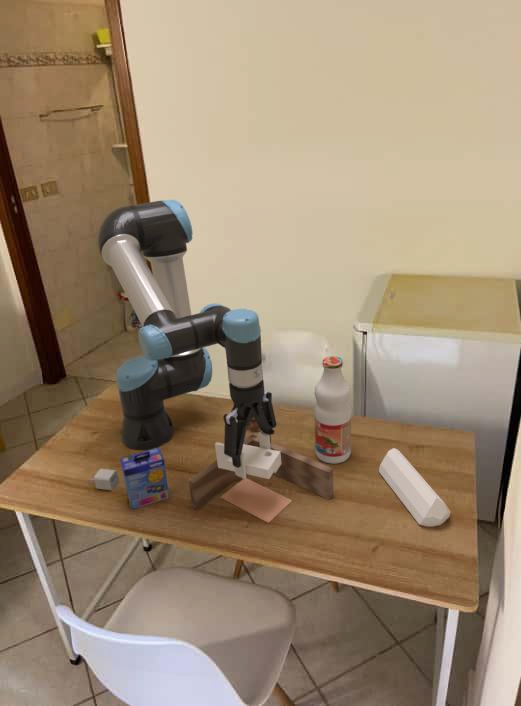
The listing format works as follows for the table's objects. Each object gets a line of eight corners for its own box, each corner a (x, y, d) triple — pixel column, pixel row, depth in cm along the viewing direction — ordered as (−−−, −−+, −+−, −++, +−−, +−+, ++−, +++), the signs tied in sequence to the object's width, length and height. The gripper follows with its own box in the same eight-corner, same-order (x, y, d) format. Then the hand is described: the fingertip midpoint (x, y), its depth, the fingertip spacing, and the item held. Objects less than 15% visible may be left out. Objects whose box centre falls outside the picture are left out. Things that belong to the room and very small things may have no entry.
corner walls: (192, 507, 132) (188, 480, 129) (254, 459, 148) (252, 434, 144) (273, 554, 117) (271, 525, 114) (333, 495, 133) (333, 468, 129)
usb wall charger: (111, 491, 139) (108, 479, 138) (87, 488, 141) (84, 476, 139) (119, 481, 143) (116, 469, 141) (95, 478, 145) (92, 466, 143)
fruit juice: (357, 459, 145) (358, 364, 133) (324, 468, 142) (323, 372, 130) (340, 440, 153) (340, 349, 141) (309, 448, 151) (307, 356, 138)
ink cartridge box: (131, 511, 132) (121, 462, 126) (127, 497, 137) (116, 449, 131) (171, 498, 136) (163, 449, 129) (165, 485, 140) (157, 438, 134)
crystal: (368, 458, 139) (417, 522, 118) (391, 441, 139) (445, 502, 118) (381, 475, 143) (431, 540, 122) (404, 459, 142) (457, 521, 121)
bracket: (218, 471, 129) (214, 444, 126) (232, 453, 135) (228, 427, 132) (269, 482, 124) (266, 454, 121) (281, 463, 130) (279, 437, 126)
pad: (220, 497, 135) (220, 496, 135) (245, 478, 141) (245, 477, 141) (268, 523, 126) (268, 522, 126) (292, 501, 132) (292, 500, 132)
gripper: (225, 406, 110) (235, 496, 119) (289, 366, 124) (293, 449, 134) (199, 396, 114) (210, 483, 124) (263, 358, 128) (269, 439, 138)
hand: (253, 466), depth 129 cm, fingers closed on bracket, 8 cm apart
